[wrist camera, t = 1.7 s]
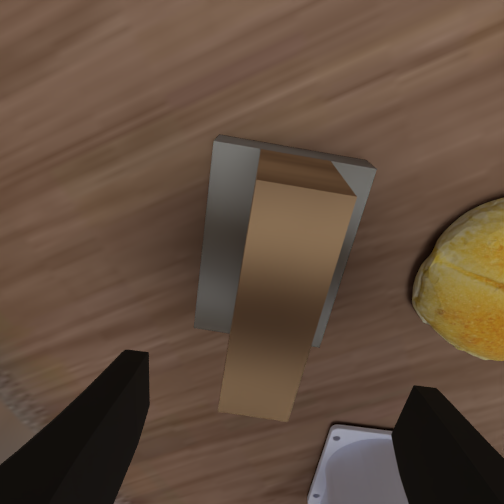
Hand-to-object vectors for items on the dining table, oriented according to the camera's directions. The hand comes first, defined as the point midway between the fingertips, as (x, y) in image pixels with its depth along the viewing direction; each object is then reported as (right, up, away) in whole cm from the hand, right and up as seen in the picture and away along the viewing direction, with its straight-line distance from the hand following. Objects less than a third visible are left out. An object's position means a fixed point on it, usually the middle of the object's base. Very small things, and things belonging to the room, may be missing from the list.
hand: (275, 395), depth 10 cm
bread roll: (+12, +3, +9) cm, 16 cm away
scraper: (+1, +4, +9) cm, 10 cm away
